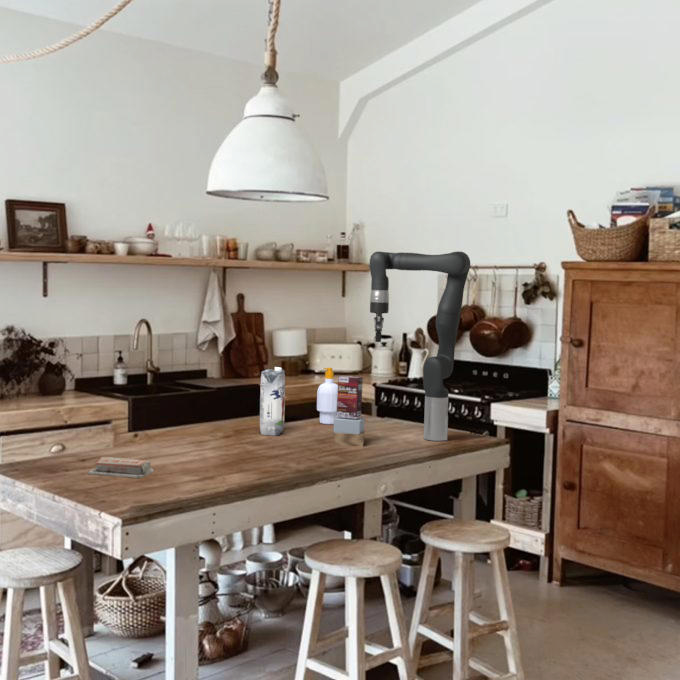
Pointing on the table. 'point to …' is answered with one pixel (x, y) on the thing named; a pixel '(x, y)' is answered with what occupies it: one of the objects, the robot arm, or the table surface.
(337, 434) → the walnut block
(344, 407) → the supplement box
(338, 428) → the pale gray block
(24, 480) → the table surface
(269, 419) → the juice carton
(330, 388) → the soap bottle
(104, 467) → the packaged product
